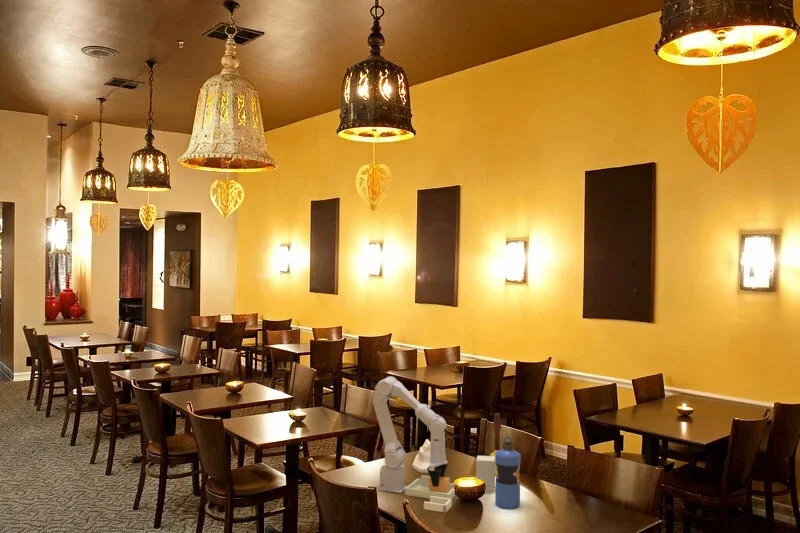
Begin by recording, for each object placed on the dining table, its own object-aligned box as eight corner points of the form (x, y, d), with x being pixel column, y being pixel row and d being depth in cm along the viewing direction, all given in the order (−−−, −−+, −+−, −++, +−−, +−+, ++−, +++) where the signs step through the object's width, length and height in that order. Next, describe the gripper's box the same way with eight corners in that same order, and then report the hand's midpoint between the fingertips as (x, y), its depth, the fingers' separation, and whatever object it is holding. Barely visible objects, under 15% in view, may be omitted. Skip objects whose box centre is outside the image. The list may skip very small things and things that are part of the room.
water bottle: (522, 502, 247) (522, 435, 247) (518, 510, 238) (518, 441, 239) (497, 499, 250) (497, 433, 250) (492, 507, 242) (493, 439, 242)
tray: (404, 494, 254) (404, 488, 254) (417, 484, 266) (417, 478, 266) (449, 501, 247) (449, 494, 247) (459, 490, 259) (459, 484, 259)
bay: (423, 509, 239) (423, 502, 239) (430, 502, 246) (430, 495, 246) (445, 512, 236) (445, 505, 236) (452, 505, 243) (452, 499, 243)
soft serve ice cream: (448, 476, 283) (445, 446, 279) (413, 478, 283) (410, 449, 280) (445, 460, 295) (443, 432, 291) (412, 463, 295) (410, 434, 292)
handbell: (490, 465, 294) (491, 409, 294) (516, 470, 287) (516, 412, 287) (477, 471, 284) (477, 413, 284) (503, 477, 277) (503, 417, 277)
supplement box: (494, 493, 257) (494, 461, 257) (475, 492, 258) (475, 460, 258) (495, 487, 264) (495, 456, 264) (476, 486, 265) (477, 454, 265)
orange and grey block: (419, 491, 257) (419, 477, 257) (423, 488, 261) (423, 474, 261) (446, 495, 252) (446, 481, 252) (449, 491, 257) (450, 477, 257)
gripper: (441, 455, 248) (441, 491, 248) (453, 445, 261) (453, 480, 261) (423, 453, 251) (423, 488, 251) (436, 443, 264) (436, 477, 264)
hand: (437, 484), depth 256 cm, fingers closed on orange and grey block, 4 cm apart
